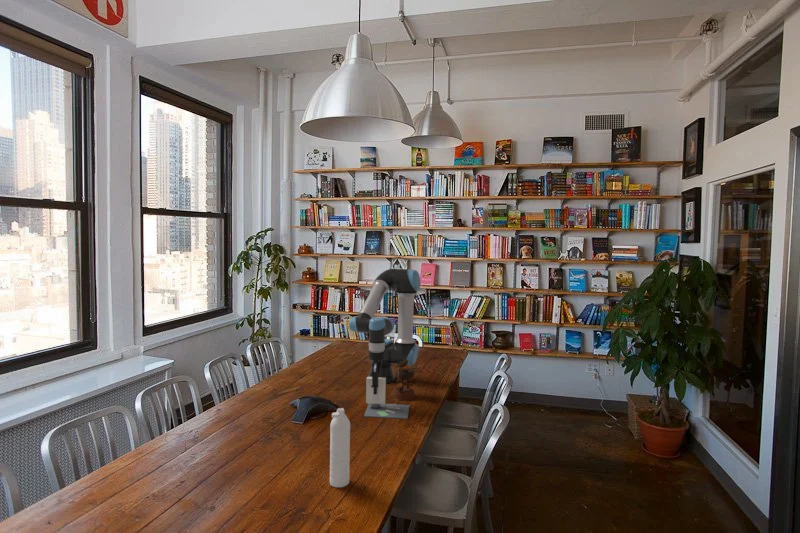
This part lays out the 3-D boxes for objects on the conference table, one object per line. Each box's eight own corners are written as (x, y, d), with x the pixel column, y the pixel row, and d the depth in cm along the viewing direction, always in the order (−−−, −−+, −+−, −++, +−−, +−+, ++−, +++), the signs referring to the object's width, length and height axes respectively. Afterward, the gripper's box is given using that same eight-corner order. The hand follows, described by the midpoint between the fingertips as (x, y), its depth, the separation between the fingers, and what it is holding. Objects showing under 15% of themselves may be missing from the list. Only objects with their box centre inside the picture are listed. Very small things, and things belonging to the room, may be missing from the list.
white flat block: (367, 404, 217) (367, 376, 216) (396, 406, 216) (397, 377, 215) (365, 407, 212) (366, 379, 211) (395, 409, 211) (396, 380, 210)
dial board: (368, 404, 219) (368, 403, 219) (409, 405, 218) (409, 404, 218) (363, 416, 203) (364, 415, 203) (407, 418, 202) (407, 417, 202)
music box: (408, 403, 222) (405, 363, 221) (388, 400, 227) (386, 361, 227) (421, 394, 235) (419, 356, 235) (402, 392, 240) (400, 355, 240)
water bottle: (334, 476, 152) (335, 404, 150) (352, 479, 150) (353, 406, 149) (323, 489, 143) (324, 413, 142) (342, 493, 142) (343, 416, 140)
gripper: (371, 346, 221) (370, 392, 222) (366, 354, 205) (365, 404, 206) (386, 347, 220) (385, 393, 222) (382, 355, 204) (381, 405, 206)
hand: (375, 398), depth 214 cm, fingers closed on white flat block, 3 cm apart
